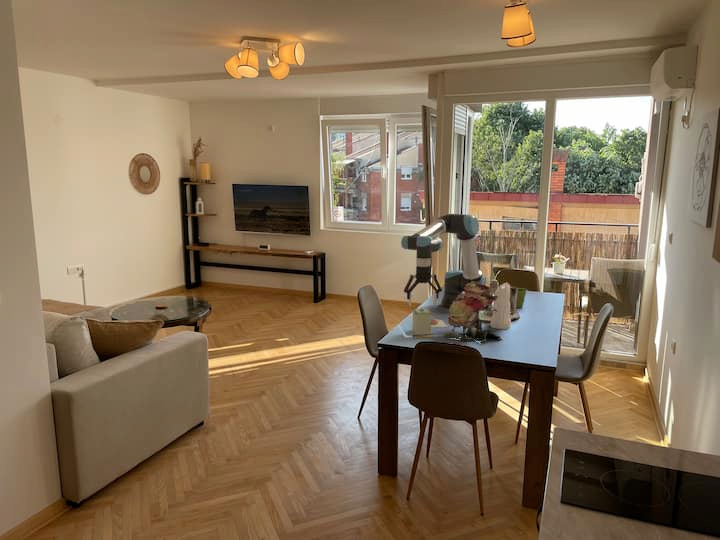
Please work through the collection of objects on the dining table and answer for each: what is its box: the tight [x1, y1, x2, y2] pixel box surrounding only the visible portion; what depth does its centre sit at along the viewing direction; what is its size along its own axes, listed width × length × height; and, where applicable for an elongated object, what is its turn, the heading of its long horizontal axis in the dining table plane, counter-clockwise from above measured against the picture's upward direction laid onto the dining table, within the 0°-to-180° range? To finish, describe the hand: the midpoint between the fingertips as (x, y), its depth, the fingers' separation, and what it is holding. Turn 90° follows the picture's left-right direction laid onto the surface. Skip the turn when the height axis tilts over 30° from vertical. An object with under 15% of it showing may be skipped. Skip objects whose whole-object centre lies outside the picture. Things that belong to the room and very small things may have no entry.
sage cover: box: [412, 307, 432, 335], centre depth 281 cm, size 8×8×13 cm
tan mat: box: [412, 334, 436, 340], centre depth 282 cm, size 16×11×1 cm
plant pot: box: [516, 288, 528, 309], centre depth 341 cm, size 12×12×11 cm
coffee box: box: [510, 285, 518, 314], centre depth 327 cm, size 9×6×16 cm
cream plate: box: [431, 317, 449, 328], centre depth 298 cm, size 13×13×3 cm
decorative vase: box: [490, 282, 512, 330], centre depth 295 cm, size 11×11×25 cm
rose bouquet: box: [443, 281, 502, 344], centre depth 274 cm, size 26×29×30 cm
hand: (422, 304), depth 280 cm, fingers open, 13 cm apart
